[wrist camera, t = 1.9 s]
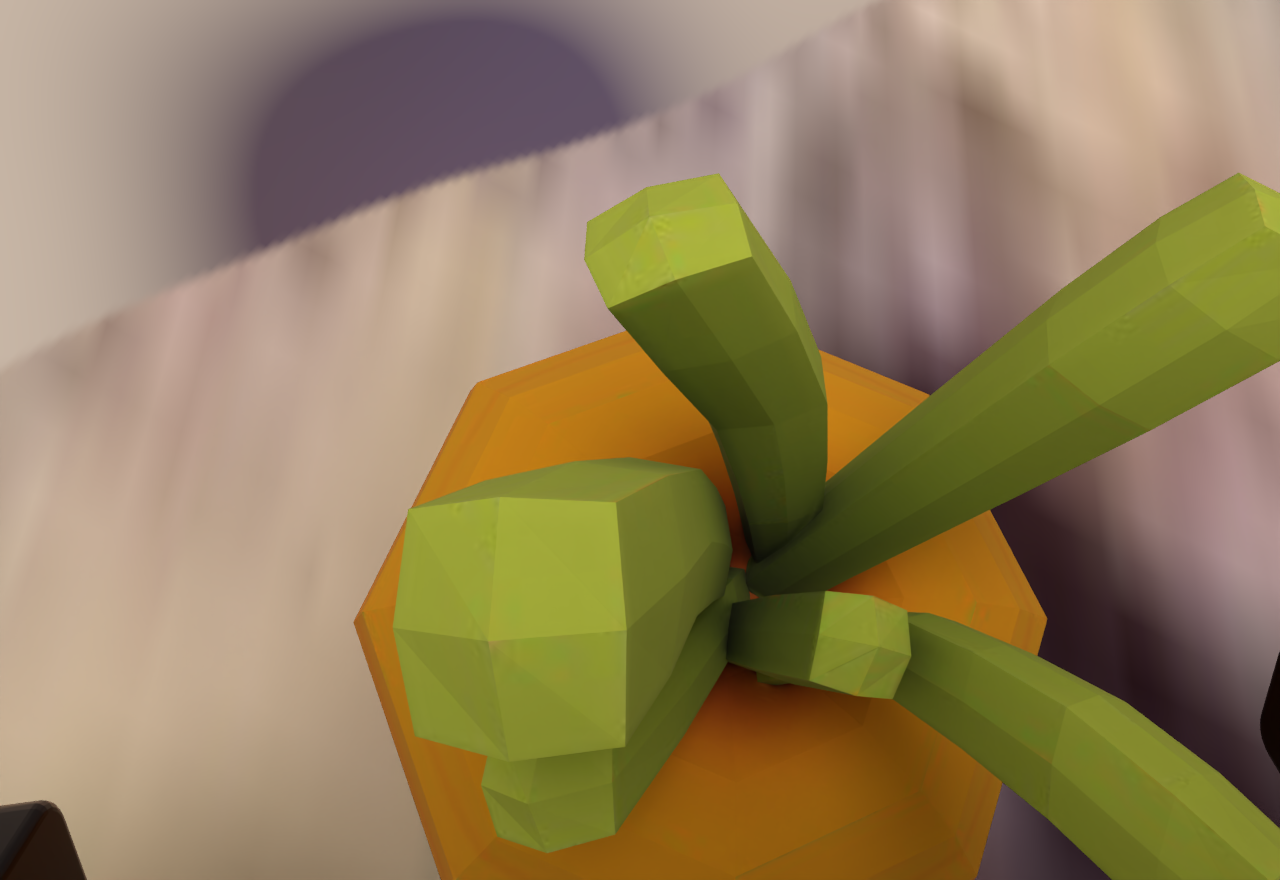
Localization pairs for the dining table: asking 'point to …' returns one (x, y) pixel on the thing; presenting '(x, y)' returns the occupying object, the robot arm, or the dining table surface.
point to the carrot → (796, 576)
